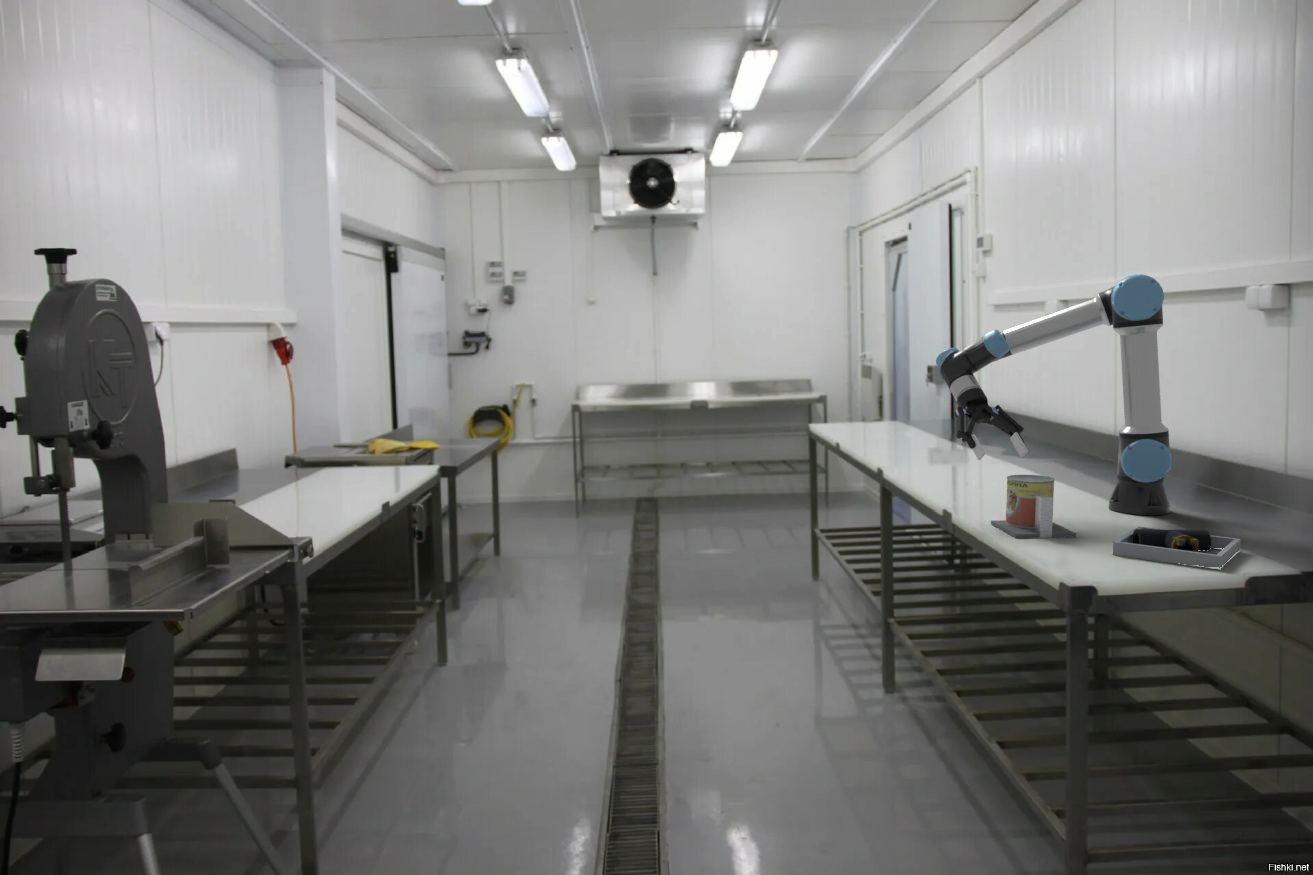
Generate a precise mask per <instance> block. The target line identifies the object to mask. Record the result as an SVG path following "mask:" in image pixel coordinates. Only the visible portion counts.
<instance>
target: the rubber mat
mask: <svg viewBox="0 0 1313 875" xmlns="http://www.w3.org/2000/svg"><path fill="white" fill-rule="evenodd" d="M1005 521H1006V519H1005V520H1003V519H1002V520H990V525H991V524H992V525H991V526H993V527H995V528H997V529H998V528H999V529H998V530H1000V531H1002V530H1003V531H1002V532H1003V533H1005V534H1007V533H1008V534H1007V535H1009V536H1011V537H1012V536H1013V537H1012V538H1014V537H1015V538H1014V539H1039V538H1040V534H1039V533H1037V532H1035V529H1028V528H1019V527H1014V526H1010V525H1007V524H1006V523H1005ZM1052 524H1053V526H1052V538H1053V539H1054V538H1058V539H1060V538H1067V539H1068V538H1077V533H1076V532H1074V531H1072V530H1070V529H1068V528H1066V527H1064V526H1061V525H1059V524H1058V523H1055V522H1054V521H1052ZM1040 539H1041V538H1040Z"/></svg>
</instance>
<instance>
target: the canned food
mask: <svg viewBox="0 0 1313 875" xmlns="http://www.w3.org/2000/svg"><path fill="white" fill-rule="evenodd" d="M1006 479H1007V480H1006V502H1005V506H1006V509H1005V520H1006V521H1005V523H1006V524H1007V525H1010V526H1014V527H1019V528H1028V529H1035V509H1036V495H1048V496H1051V497H1053V498H1054V496H1055V495H1054V493H1055V478H1053V477H1050V476H1045V475H1039V474H1011V475H1007V476H1006ZM1052 526H1053V524H1052Z"/></svg>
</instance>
